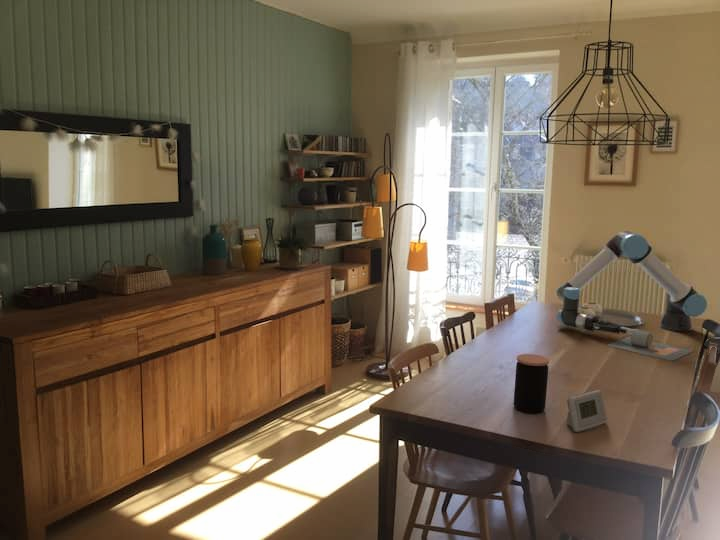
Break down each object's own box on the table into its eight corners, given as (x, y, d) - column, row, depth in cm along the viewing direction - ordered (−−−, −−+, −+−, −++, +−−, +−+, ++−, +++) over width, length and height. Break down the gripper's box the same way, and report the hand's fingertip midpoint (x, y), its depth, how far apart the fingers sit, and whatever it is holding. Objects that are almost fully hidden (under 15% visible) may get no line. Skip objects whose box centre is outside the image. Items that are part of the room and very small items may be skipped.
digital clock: (574, 434, 206) (577, 402, 205) (555, 423, 215) (558, 392, 213) (614, 427, 213) (617, 396, 211) (594, 417, 221) (597, 387, 219)
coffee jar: (550, 408, 227) (554, 358, 224) (535, 417, 219) (540, 365, 216) (522, 400, 234) (526, 351, 231) (507, 408, 226) (511, 358, 223)
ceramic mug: (646, 349, 302) (648, 333, 301) (628, 345, 307) (630, 329, 306) (655, 345, 310) (657, 330, 308) (637, 342, 315) (639, 326, 314)
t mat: (629, 337, 324) (629, 336, 324) (693, 351, 303) (693, 351, 303) (606, 345, 308) (606, 345, 308) (672, 361, 286) (672, 360, 286)
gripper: (593, 327, 332) (639, 338, 315) (580, 331, 323) (626, 342, 306) (594, 313, 330) (640, 322, 314) (581, 316, 322) (628, 327, 305)
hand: (633, 332), depth 310 cm, fingers closed
